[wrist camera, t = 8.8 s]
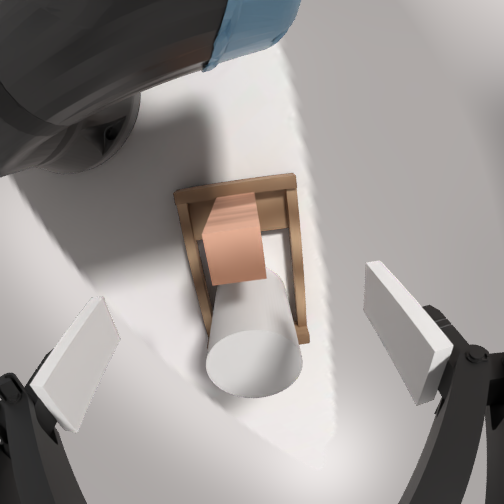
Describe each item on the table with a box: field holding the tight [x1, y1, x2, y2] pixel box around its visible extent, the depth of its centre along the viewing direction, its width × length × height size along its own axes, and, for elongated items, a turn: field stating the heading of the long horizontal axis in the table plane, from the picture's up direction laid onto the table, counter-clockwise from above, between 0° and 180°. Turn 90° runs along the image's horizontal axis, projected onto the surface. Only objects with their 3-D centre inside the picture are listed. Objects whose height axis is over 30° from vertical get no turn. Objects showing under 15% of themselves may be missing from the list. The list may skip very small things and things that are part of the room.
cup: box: [206, 267, 303, 398], centre depth 30 cm, size 8×8×12 cm
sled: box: [173, 173, 310, 349], centre depth 28 cm, size 19×12×13 cm, turn 8°
